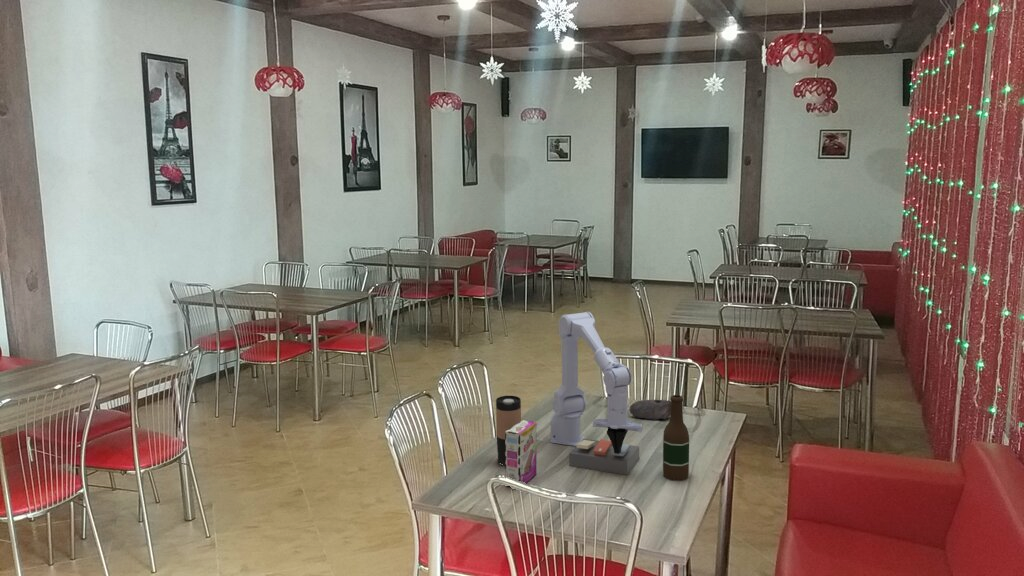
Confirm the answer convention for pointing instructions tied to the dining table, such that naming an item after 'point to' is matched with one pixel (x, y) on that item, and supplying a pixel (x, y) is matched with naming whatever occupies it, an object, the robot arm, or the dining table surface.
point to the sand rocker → (585, 444)
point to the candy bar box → (521, 451)
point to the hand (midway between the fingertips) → (617, 452)
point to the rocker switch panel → (604, 459)
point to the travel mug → (506, 420)
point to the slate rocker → (622, 450)
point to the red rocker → (602, 447)
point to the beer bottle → (676, 443)
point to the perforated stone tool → (651, 409)
